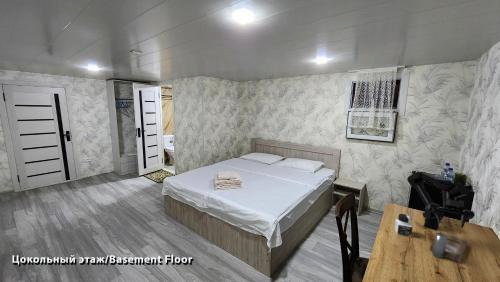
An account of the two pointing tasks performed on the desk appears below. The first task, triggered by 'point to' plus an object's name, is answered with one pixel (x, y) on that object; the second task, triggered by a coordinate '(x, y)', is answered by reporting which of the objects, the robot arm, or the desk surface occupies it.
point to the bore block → (453, 248)
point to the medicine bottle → (403, 225)
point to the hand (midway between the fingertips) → (450, 225)
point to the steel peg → (439, 245)
